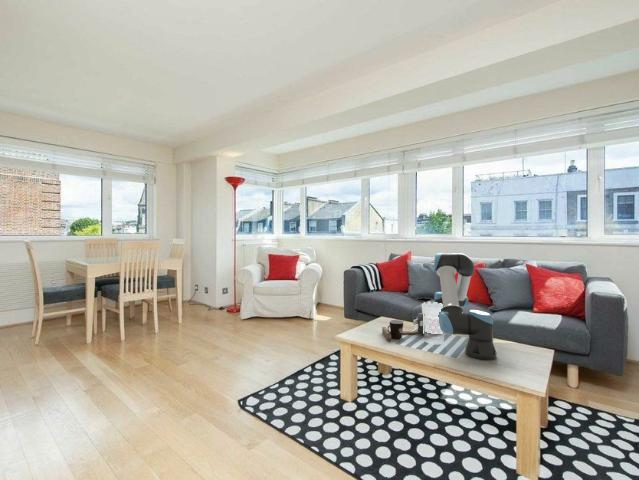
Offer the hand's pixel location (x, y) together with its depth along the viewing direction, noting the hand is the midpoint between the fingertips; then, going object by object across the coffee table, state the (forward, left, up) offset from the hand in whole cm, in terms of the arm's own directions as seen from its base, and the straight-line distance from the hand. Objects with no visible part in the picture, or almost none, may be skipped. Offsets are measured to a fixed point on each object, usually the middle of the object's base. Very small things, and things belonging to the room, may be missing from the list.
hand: (417, 323), depth 207 cm
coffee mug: (-4, +16, -8) cm, 18 cm away
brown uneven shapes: (-3, +8, -8) cm, 11 cm away
